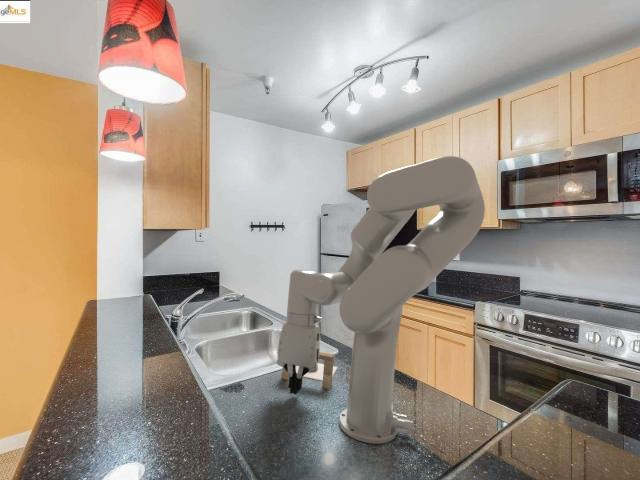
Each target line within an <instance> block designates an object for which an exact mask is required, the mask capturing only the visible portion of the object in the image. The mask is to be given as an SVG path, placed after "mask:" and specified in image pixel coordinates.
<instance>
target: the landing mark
mask: <svg viewBox="0 0 640 480" xmlns="http://www.w3.org/2000/svg"><path fill="white" fill-rule="evenodd" d="M317 365H318V370H317V371H316V372H313V373H307V374H305V375H304V376H303V378H305V379H311V380H316V381H320V382H323V371H324V363H321V362H318V363H317ZM338 367H339V366H336V365H335V366H334V365H333V374H332V378H333V376H334V375H335V373H336V372H337V370H338ZM298 369H299V366H296V373H298Z"/></svg>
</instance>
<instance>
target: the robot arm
mask: <svg viewBox="0 0 640 480" xmlns="http://www.w3.org/2000/svg"><path fill="white" fill-rule="evenodd" d="M484 200H485V199H484V197H483V193H482V190H481V188H480V185H479V181H478V178H477V175H476V171H475V169H474V168H473V166H472V164H471V163H470V162H468V161H467V160H466V159H465V158H462V157H459V156H453V155H448V156H439V157H437V158H433V159H428V160H425V161H422V162H419V163H416V164H415V163H414V164H411V165H407V166H404V167H401V168H397V169H394V170H390V171H387V172H385V173H383V174H381V175H379V176H377V177H376V178H375V179H374V180H372V182H371V183H370V184H369V186H368V188H367V192H366V202H367V204H368V206H369V208H368V209H367V210H366V211H365V212H364V214H363V216H362V217H361V218H360V219H359V221H358V222H357V223H356V225H354V227H353V228H352V230H351V232H350V239H351V245H352V246H351V247H352V248H351V251H350V254H349V256H348V258H347V259H346V260H345V262H344V263H343V264H342V266H341V267H340V268H339V270H338V271H337V272H336V271H335V272H324V273H320V272H318V271H315V270H310V269H294V270H292V271H291V272H290V277H289V285H288V286H289V287H288V298H287V308H286V317H285V318H286V319H285V321H284V322H283V324H282V326H281V327H282V328H281V331H280V335H279V340H278V347H277V352H276V353H277V354H276V355H277V357H276V359H277V361H276V365H278V366H279V367H281V368H283V367H284V368H285V370H286V371H287V373H288V376H289V380H288V389H289V394H291V395H292V394H293V395H297V394H298V393H299V391H301V390H302V388H303V379H304V377H303V376H304V375H305V374H307V373H313V372H316V371H317V370H318V365H317V362H318V363H319V360H320V359H319V355H320V351H321V350H320V348H321V344H320V343H321V341H320V340H321V339H320V338H321V336H320V326H319V325H318V323H322V322H323V321H322V320H323V319H322V316H318V305H320V306H324V307H325V306H332V305H336V304H339V316H340V319H341V322H342V323H343V324H344V325H345V327H346V328H347V329H348V330H350V331H352V332H353V333H354V336H353V338H352V339H353V340H352V341H353V342H352V349H351V350H352V351H351V361H350V374H349V382H348V383H349V385H348V395H347V407H346V409H344V410H342V411H341V412H340V414H339V418H338V423H339V427H340V428H341V430H342V432H343V433H345V434H346V435H347V436H349V437H350V438H352V439H355V440H356V441H359V442H362V443H366V444H372V445H373V444H375V445H377V444H379V445H381V444H382V445H383V444H385V443H386V444H387V443H389V442H391V441H393V440H394V439H396V437H397V434H398V428H399V429H401V430H405V431H408V432H413V426H414V421H413V420H409V419H408V418H407V417H408V416H407V414H402V413H397V412H396V411H394V404H393V395H394V381H395V372H396V371H395V370H396V358H397V347H398V340H399V332H400V327H401V321H402V315H403V306H405V304H406V303H408V301H410V299H411V298H413V296H415V295H416V294H417V293H421V292H422V291H424V290H425V289H427V288H428V287H429V286H430V285H431V283H432V282H433V281H434V280H435V279H436V278H437V277H438V275H439V274H440V273H442V271H444V269H445V268H447V267H448V266H449V265H450V263H452V262H453V260H455V258H457V256H459V254H461V252H462V251H463V250H464V249H465V248H466V247H467V246H468V245H469V244H470V243H471V242H472V241H473V239H475V237H476V236H477V234H478V233H479V231H480V229H481V227H482V225H483V222H484V219H485V212H486V207H485V201H484ZM433 206H439V211H438V213H437V214H436V216H435V217H434V218H432V219H431V221H429V222H428V223H427V224H426V225H425V226H424V227H423V228H422V229H420V231H419V232H418V233H417V234H416V235H415V237H414V238H413V239H411V241H410V242H408V243H407V244H405V245H395V246H392V247H390V248H388V249H387V247H388V246H390V243H392V241H393V240H394V239H395V237H396V236H397V235H398V233H399V232H400V231H401V230H402V228H403V227H404V226H405V224H407V223H408V221H409V220H410V219H411V217H412V216H413V215H414V213H415V212H416V211H417V210H418V209H419V210H420V209H423V208H429V207H433ZM297 366H299V369H298V373H296V367H297ZM395 436H396V437H395Z"/></svg>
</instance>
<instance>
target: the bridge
mask: <svg viewBox="0 0 640 480" xmlns="http://www.w3.org/2000/svg"><path fill="white" fill-rule="evenodd" d="M334 359H335V353H332V352H327V351H322V350H320V355H319V360H321V361H322V360H323V361H324V362H323V364H324V371H323V381H321V382H322V384H321V388H323V389H328V390H330V388H331V387H332V384H333V383H332V382H333V377H332V374H333V366H334V361H335V360H334ZM281 368H282V369H281V370H282V371H281V380H285V381H289V376H288V373H287V371H286V370H285V368H284V367H281Z"/></svg>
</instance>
